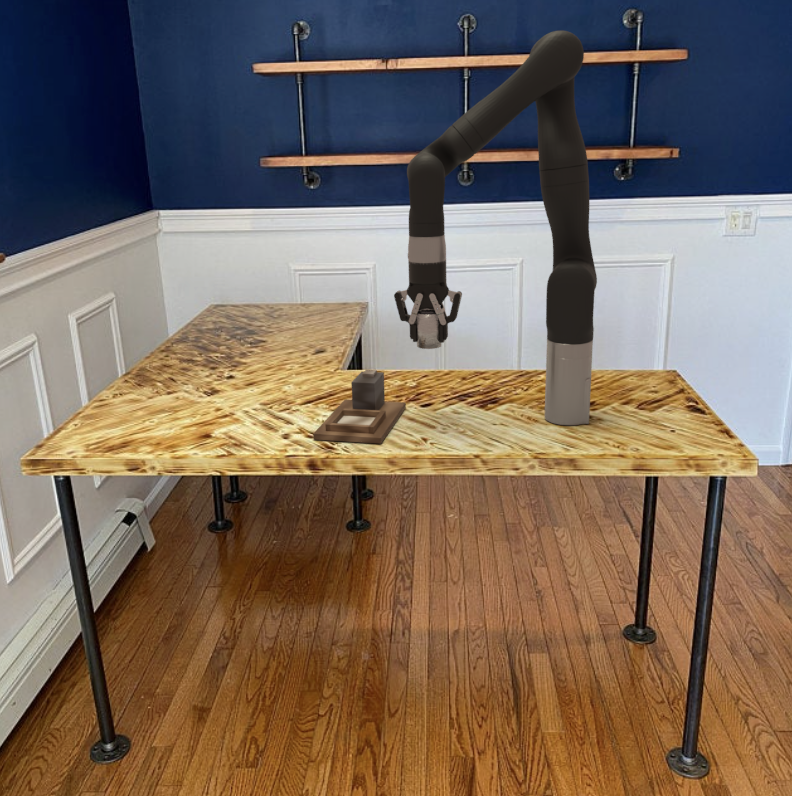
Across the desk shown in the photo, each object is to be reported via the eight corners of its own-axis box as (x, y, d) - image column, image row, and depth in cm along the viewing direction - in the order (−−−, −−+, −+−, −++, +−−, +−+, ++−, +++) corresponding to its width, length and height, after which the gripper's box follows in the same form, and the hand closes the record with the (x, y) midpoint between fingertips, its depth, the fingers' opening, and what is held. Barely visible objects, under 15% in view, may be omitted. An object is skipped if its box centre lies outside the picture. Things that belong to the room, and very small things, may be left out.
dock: (405, 407, 183) (404, 368, 180) (381, 443, 163) (379, 400, 160) (345, 404, 186) (343, 365, 183) (313, 439, 166) (310, 396, 163)
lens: (443, 343, 172) (442, 307, 169) (438, 349, 167) (438, 312, 165) (419, 342, 173) (418, 307, 170) (414, 348, 168) (413, 312, 166)
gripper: (465, 255, 166) (466, 338, 171) (396, 255, 169) (399, 336, 175) (460, 261, 159) (460, 347, 164) (387, 261, 162) (390, 345, 168)
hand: (428, 341), depth 170 cm, fingers closed on lens, 5 cm apart
